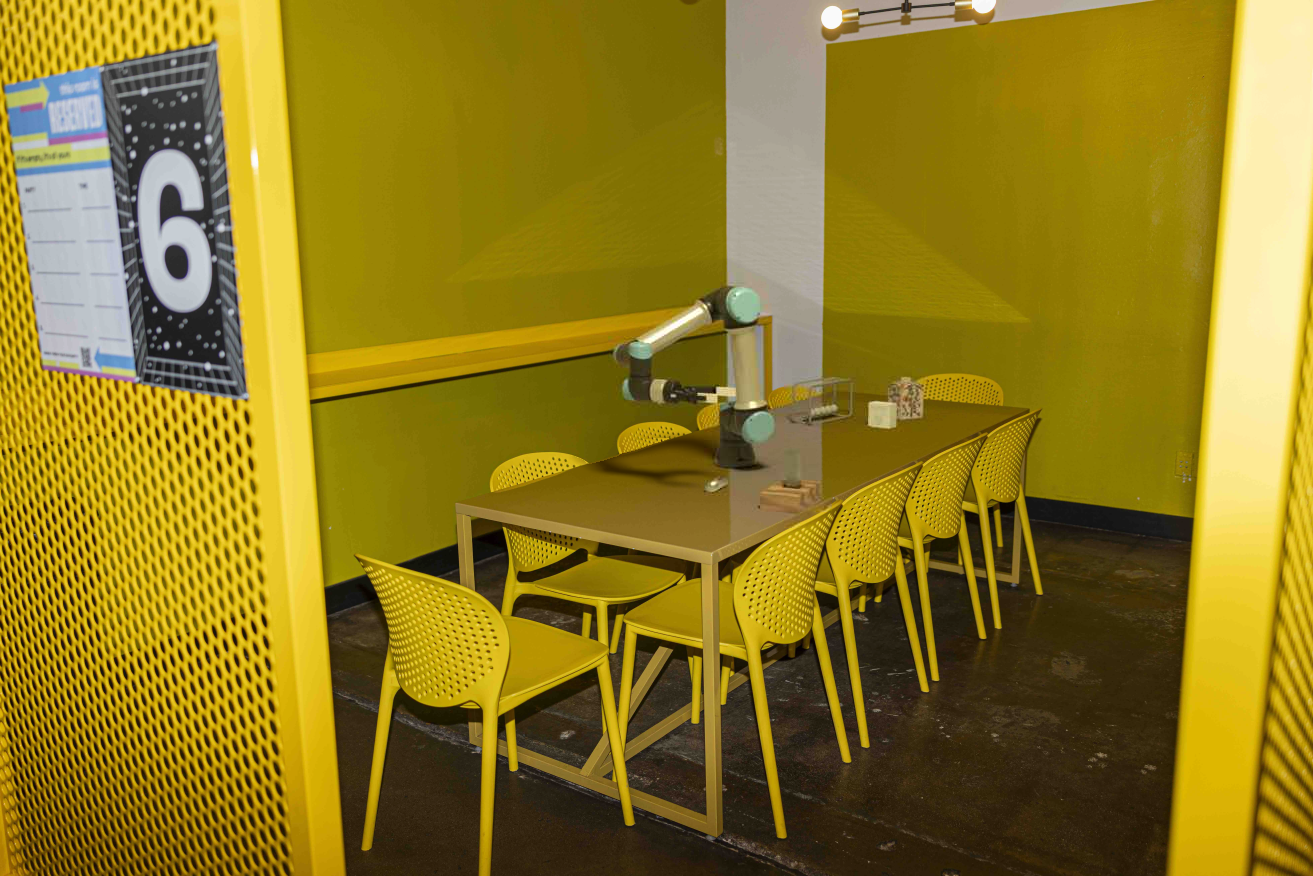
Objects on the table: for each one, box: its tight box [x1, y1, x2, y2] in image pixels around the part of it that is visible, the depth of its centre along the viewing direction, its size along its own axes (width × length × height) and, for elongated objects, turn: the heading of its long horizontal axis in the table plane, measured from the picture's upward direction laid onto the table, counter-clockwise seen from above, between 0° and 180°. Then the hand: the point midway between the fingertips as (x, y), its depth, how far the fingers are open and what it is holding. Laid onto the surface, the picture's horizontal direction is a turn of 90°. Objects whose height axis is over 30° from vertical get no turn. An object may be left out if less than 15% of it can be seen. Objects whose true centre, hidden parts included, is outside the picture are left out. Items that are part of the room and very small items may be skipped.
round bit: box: [704, 475, 729, 493], centre depth 321 cm, size 10×4×4 cm, turn 151°
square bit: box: [785, 447, 802, 489], centre depth 303 cm, size 4×4×16 cm
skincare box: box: [867, 400, 898, 430], centre depth 418 cm, size 10×6×10 cm, turn 49°
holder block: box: [759, 477, 822, 514], centre depth 302 cm, size 20×12×5 cm, turn 151°
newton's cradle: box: [791, 376, 854, 426], centre depth 435 cm, size 30×10×18 cm, turn 132°
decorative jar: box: [887, 376, 925, 421], centre depth 437 cm, size 12×12×18 cm
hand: (726, 395), depth 309 cm, fingers open, 13 cm apart
